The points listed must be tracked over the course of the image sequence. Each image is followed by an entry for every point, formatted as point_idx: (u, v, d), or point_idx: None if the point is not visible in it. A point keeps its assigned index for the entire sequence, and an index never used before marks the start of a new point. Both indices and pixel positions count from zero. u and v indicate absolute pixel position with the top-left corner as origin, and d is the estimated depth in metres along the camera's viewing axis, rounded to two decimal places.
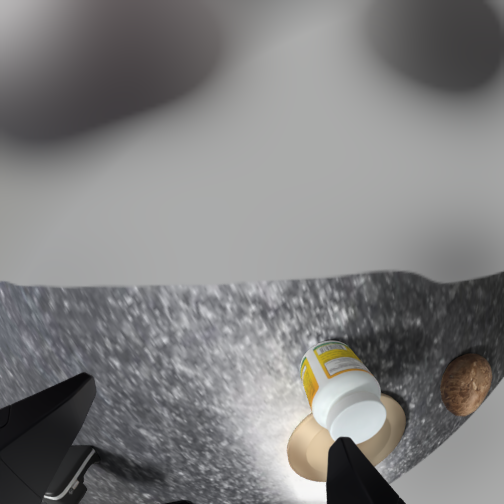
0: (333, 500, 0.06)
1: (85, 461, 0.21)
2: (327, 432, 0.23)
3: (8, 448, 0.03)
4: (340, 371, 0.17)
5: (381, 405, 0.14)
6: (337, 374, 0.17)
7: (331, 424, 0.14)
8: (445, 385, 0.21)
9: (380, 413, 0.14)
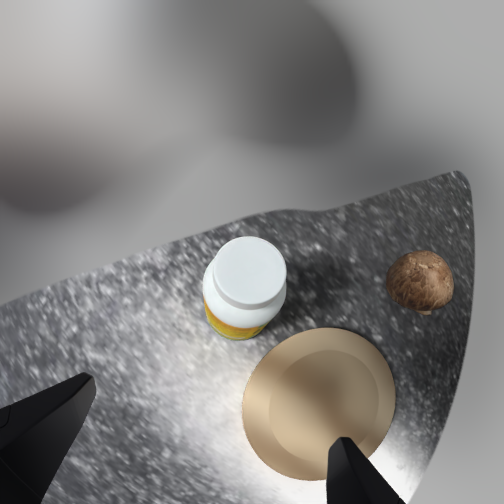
0: (333, 500, 0.06)
1: None
2: (282, 393, 0.20)
3: (8, 449, 0.03)
4: None
5: (263, 241, 0.16)
6: None
7: (213, 274, 0.14)
8: (392, 288, 0.23)
9: (269, 250, 0.15)
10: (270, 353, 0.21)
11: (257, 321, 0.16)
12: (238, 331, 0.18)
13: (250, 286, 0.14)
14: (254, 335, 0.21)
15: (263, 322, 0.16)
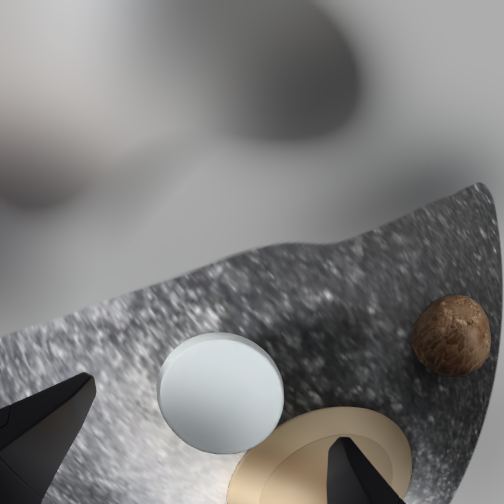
0: (333, 500, 0.06)
1: None
2: (276, 487, 0.12)
3: (8, 449, 0.03)
4: None
5: (246, 347, 0.09)
6: None
7: (160, 405, 0.07)
8: (421, 350, 0.16)
9: (255, 365, 0.08)
10: (261, 444, 0.14)
11: None
12: None
13: (221, 428, 0.07)
14: None
15: None
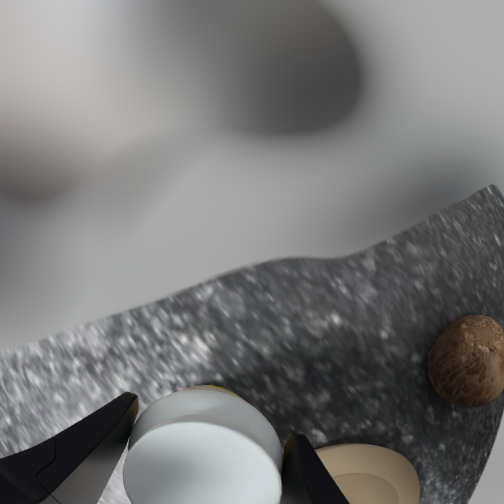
0: (284, 500, 0.06)
1: None
2: None
3: (59, 485, 0.03)
4: None
5: (231, 432, 0.05)
6: (151, 404, 0.08)
7: (126, 491, 0.04)
8: (438, 380, 0.13)
9: (244, 455, 0.05)
10: None
11: None
12: None
13: None
14: None
15: None
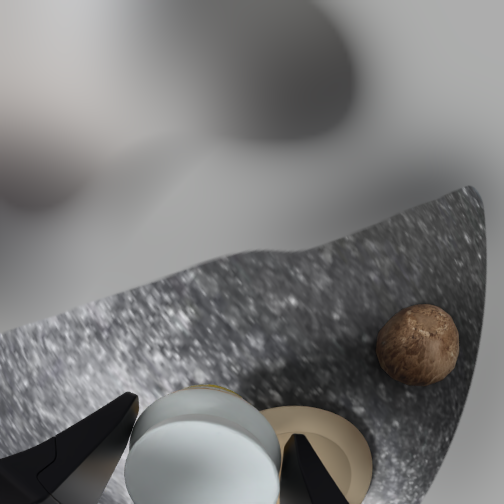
0: (284, 500, 0.06)
1: None
2: None
3: (59, 485, 0.03)
4: None
5: (230, 431, 0.06)
6: None
7: (128, 489, 0.04)
8: (382, 358, 0.18)
9: (243, 453, 0.05)
10: None
11: None
12: None
13: None
14: None
15: None
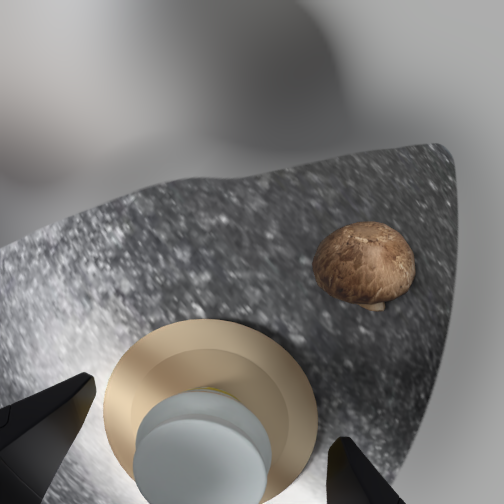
0: (333, 500, 0.06)
1: None
2: (147, 396, 0.14)
3: (8, 449, 0.03)
4: None
5: (224, 429, 0.07)
6: (155, 405, 0.09)
7: (135, 480, 0.05)
8: (316, 271, 0.18)
9: (235, 448, 0.06)
10: (136, 344, 0.16)
11: None
12: None
13: None
14: None
15: None
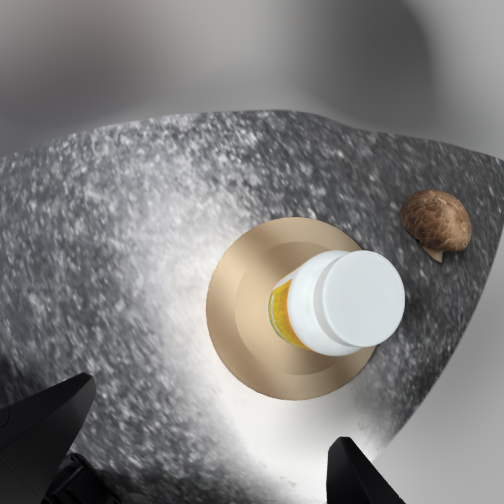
0: (333, 500, 0.06)
1: None
2: (259, 272, 0.20)
3: (8, 449, 0.03)
4: None
5: (389, 263, 0.11)
6: None
7: (322, 295, 0.10)
8: (405, 213, 0.21)
9: (392, 278, 0.11)
10: (260, 226, 0.21)
11: (344, 353, 0.12)
12: (311, 350, 0.14)
13: (362, 323, 0.10)
14: None
15: None
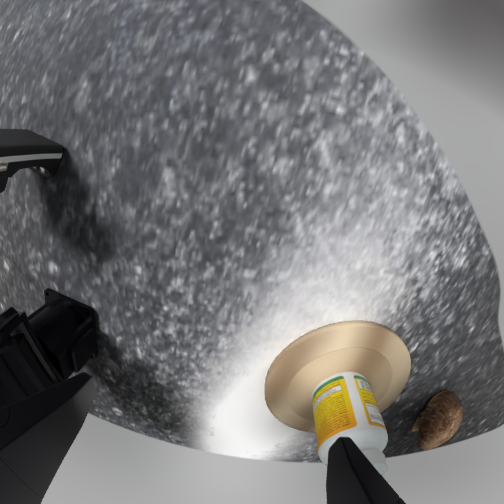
0: (333, 500, 0.06)
1: (40, 155, 0.15)
2: (351, 355, 0.21)
3: (8, 448, 0.03)
4: (379, 424, 0.15)
5: (383, 472, 0.12)
6: (376, 424, 0.15)
7: None
8: (437, 403, 0.21)
9: None
10: (387, 333, 0.20)
11: (325, 464, 0.15)
12: None
13: None
14: None
15: None
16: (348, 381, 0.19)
